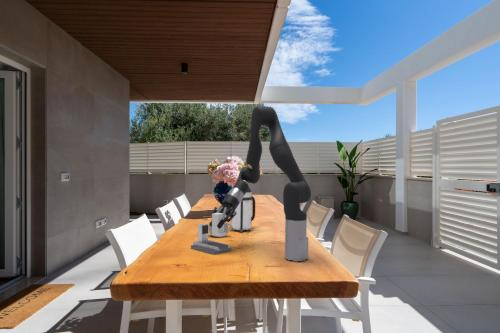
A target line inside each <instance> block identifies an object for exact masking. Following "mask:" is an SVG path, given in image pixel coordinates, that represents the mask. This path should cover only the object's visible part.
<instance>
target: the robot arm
mask: <svg viewBox="0 0 500 333" xmlns="http://www.w3.org/2000/svg"><path fill="white" fill-rule="evenodd" d="M250 117H251V118H250V126H249V127H250V130H249V144H248V149H247V154H246V158H245V162H246V164H247V165H249V166H250V167H249V166H243V167H241V169H240V171H239V174H238V177H237V179H236V182H235V183H234V185H233V186H232V188H231V189H230V190H229V191H228V192H227V194H226V195H225V197H224V199H223V200H222V201H221V205H220V206H219V207H217V206H214V208H213V211H211V212H212V213H211V214H210V217H211V218H212V214H213V213H223V217H222V220H220V222H219V223H218V225H217V227H218V228H219V229H220V228H221V227H222V226H223V225H224V223H226V222H228V223H229V222H230V223H231V222H232V218H233V217H234V216H235V215H236V214H237V213H236V211H235V210H236V208H237V207H238V205H239V204H240V202H241V201H242V199H243V197H244V195H245V194H246V192H247V190H248V189H249V187H250V186H249V184H248V183H250V184H253V185H254V184H257V183H258V182H259V181H260V177H261V170H260V169H261V167H260V164H261V163H260V162H261V159H262V154H263V145H262V141H261V138H260V129H261V127H262V126H266V127H267V129H268V130H269V134H270V139H269V140H270V141H269V146H268V150H269V153H270V156H271V158H272V161H273V162H274V164H275V165H276V166H277V167H278V168H279V169H280V170H281V171H282V172H283V173H284V174H285V175H286V176H287V178H288V179H289V182H288V183H286V184H285V186H284V188H283V194H282V199H283V200H282V201H283V213H284V216H285V218H284V219H285V223H284V224H285V225H284V226H285V227H284V229H285V230H284V232H285V233H284V259H285V258H286V259H288V260H287V261H289V260H293V261H292V262H298V261H302V262H304V261H306V260H305V259H307V260H309V237H308V236H307V234H308V232H307V229H308V228H307V227H308V225H307V223H308V219H307V218H308V215H307V214H308V213H307V212H306V211H303V210H302V209H301V204H304V203H305V204H306V203H308V202H309V201H310V200H311V197H312V192H311V187H310V185H309V184H308V182H307V180H306V178H305V177H304V175H303V173H302V171H301V170H300V168H299V166H298V163H297V160H296V159H295V157H294V155H293V152H292V150H291V147H290V144H289V143H288V141H287V139H286V136H285V134H284V132H283V129H282V126H281V123H280V120H279V116H278V114H277V112H276V110H275V109H274V108H273V107H271V106H264V105H257V106H255V107H254V108H253V109H252V111H251V116H250ZM247 182H248V183H247ZM209 222H210V224H209V223H208V226H209V225H210V226H211V227H212V220H210V221H209ZM286 259H285V260H286ZM303 260H304V261H303Z"/></svg>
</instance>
